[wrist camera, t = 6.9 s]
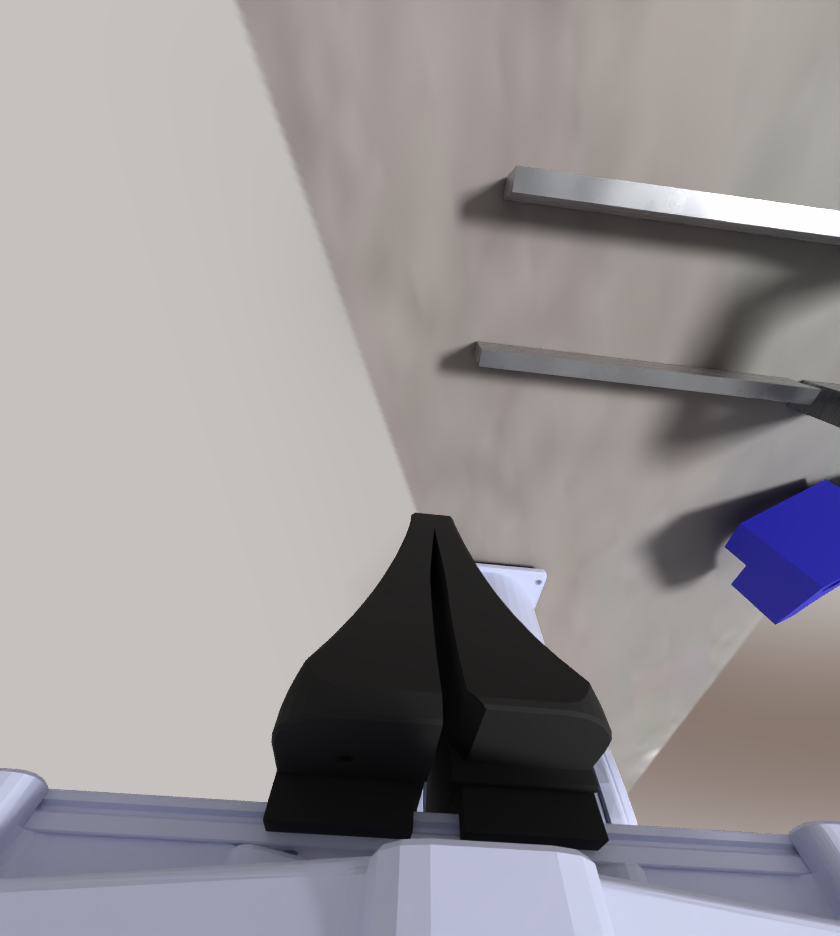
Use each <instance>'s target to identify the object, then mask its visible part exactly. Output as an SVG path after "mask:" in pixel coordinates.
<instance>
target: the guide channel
mask: <svg viewBox="0 0 840 936" xmlns="http://www.w3.org/2000/svg"><path fill="white" fill-rule="evenodd" d="M503 200H509V201H516V202H523V203H531V204H538V205H545V206H553V207H560V208H567V209H575V210H582V211H589V212H597V213H604V214H611V215H619V216H626V217H633V218H641V219H648V220H655V221H663V222H670V223H677V224H685V225H692V226H699V227H707V228H714V229H721V230H729V231H736V232H743V233H751V234H758V235H765V236H772V237H780V238H787V239H794V240H802V241H809V242H816V243H824V244H831V245H838V246H840V211H836V210H829V209H822V208H814V207H807V206H800V205H793V204H786V203H779V202H772V201H765V200H758V199H751V198H743V197H736V196H729V195H722V194H715V193H708V192H701V191H694V190H687V189H680V188H672V187H665V186H658V185H651V184H644V183H637V182H630V181H623V180H616V179H609V178H601V177H594V176H587V175H580V174H573V173H566V172H559V171H552V170H545V169H537V168H530V167H523V166H517V167H516V168H515V169H514V170H513V171H512V172H511V173H510V174H509V175H508V176H507V179H506V185H505V190H504V195H503ZM474 358H475V360H476V362H477V364H478V366H480V367H489V368H498V369H506V370H515V371H523V372H532V373H541V374H549V375H558V376H567V377H575V378H584V379H592V380H601V381H610V382H618V383H627V384H636V385H644V386H653V387H661V388H670V389H679V390H687V391H696V392H705V393H713V394H722V395H730V396H739V397H748V398H756V399H765V400H774V401H782V402H791V403H799V404H808V405H811V404H812V403H813V401H814V400H815V398H816V397H817V395H818V394H819V392H820V391H821V389H818V388H815V387H812V386H809V385H806V384H803V383H800V382H797V381H794V380H790V379H787V378H781V377H772V376H764V375H756V374H747V373H739V372H730V371H722V370H714V369H705V368H697V367H688V366H680V365H671V364H663V363H655V362H646V361H638V360H629V359H621V358H613V357H604V356H596V355H587V354H579V353H571V352H562V351H554V350H545V349H537V348H529V347H520V346H512V345H503V344H495V343H486V342H478V341H477V344H476V349H475V355H474Z"/></svg>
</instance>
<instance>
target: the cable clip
mask: <svg viewBox="0 0 840 936" xmlns="http://www.w3.org/2000/svg"><path fill="white" fill-rule="evenodd" d="M725 548H726V549H728V550H729V551H730V552H731V553H732V554H734V555H735V556H736V557H737V558H738V559H739V560H741V561H742V562H743V563H744V564H745V565H746V567H745V568H744V569H743V570H742V572H741V573H740V574H739V575H738V577H737V578H736V579H735V580H734V581H733V583H732V584H731V585H732V586H733V587H735V588H736V589H737V590H738V591H739V592H740V593H741V594H742V595H743V596H744V597H746V598H747V599H748V600H749V601H750V602H751V603H752V604H753V605H754V606H755V607H757V608H758V609H759V610H760V611H761V612H762V613H763V614H764V615H765V616H766V617H768V618H769V619H770V620H771V621H772V622H773V623H774V624H778V623H780V622H781V621H783V620H785V619H787V618H789V617H791V616H793V615H795V614H796V613H798V612H799V611H800V610H802V609H803V608H805V607H806V606H808V605H809V604H811V603H812V602H814V601H815V600H817V599H819V598H820V597H821V596H823V595H825V594H826V593H828V592H829V591H831V590H833V589H834V588H836V587H837V586H839V585H840V487H838V486H836V485H834V484H833V483H831V482H829V481H828V480H824V481H822V482H820V483H818V484H816V485H814V486H812V487H810V488H808V489H806V490H804V491H802V492H800V493H798V494H796V495H794V496H792V497H791V498H789V499H787V500H785V501H783V502H781V503H779V504H777V505H775V506H773V507H771V508H769V509H767V510H765V511H763V512H761V513H759V514H757V515H756V516H754V517H752V518H750V519H748V520H746V521H744V522H742V523H740V524H739V526H738V527H737V529H736V530H735V532H734V534H733V535H732V537H731V538H730V540H729V541H728V543H727V544H726V546H725Z"/></svg>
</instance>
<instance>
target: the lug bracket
mask: <svg viewBox="0 0 840 936" xmlns="http://www.w3.org/2000/svg"><path fill="white" fill-rule="evenodd" d="M802 383H803V384H806V385H809V386H812V387H815V388H818V389H821V391H820V392H819V394H818V395H817V397H816V398H815V400H814V401H813V403H812V404H811V405H808V404H799V403H791V402H789V403H788V405H787V407H789V408H792V409H795V410H797V411H800V412H802V413H805V414H807V415H810V416H812V417H815V418H817V419H820V420H822V421H825V422H827V423H830V424H832V425H835V426H837V427H840V385H839V384H831V383H823V382H814V381H806V380H803V382H802Z"/></svg>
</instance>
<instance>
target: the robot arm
mask: <svg viewBox="0 0 840 936" xmlns="http://www.w3.org/2000/svg"><path fill="white" fill-rule="evenodd" d="M546 578H547V575H546V572H545V571H544V570H542V569H534V568H523V567H512V566H501V565H490V564H480V563H475V561H474V560H473V558H472V556H471V555H470V553H469V551H468V550H467V548H466V546H465V544H464V542H463V540H462V538H461V536H460V534H459V532H458V530H457V528H456V526H455V524H454V521H453V519H452V518H451V517H450V516H443V515H433V514H422V513H414V514H412V515H411V522H410V525H409V528H408V531H407V534H406V536H405V539H404V541H403V543H402V545H401V547H400V549H399V551H398V553H397V555H396V557H395V558H394V560H393V562H392V563H391V565H390V567H389V568H388V570H387V572H386V573H385V575H384V576H383V578H382V579H381V581H380V582H379V584H378V585H377V586H376V588H375V589H374V590H373V592H372V593H371V594H370V595H369V597H368V598H367V599H366V600H365V602H364V603H363V604H362V605H361V607H360V608H359V609H358V610H357V611H356V612H355V614H354V615H353V616H352V617H351V618H350V619H349V620H348V621H347V622H346V623H345V624H344V625H343V626H342V627H341V628H340V629H339V630H338V631H337V632H336V633H335V634H334V635H333V636H332V637H331V638H330V639H329V640H328V641H327V642H326V643H325V644H323V645H322V646H321V647H320V648H319V649H318V650H317V651H316V652H315V653H314V654H312V655H311V656H310V657H309V658H308V659H307V660H306V661H305V663H304V664H303V666H302V667H301V669H300V671H299V672H298V674H297V676H296V677H295V679H294V681H293V683H292V685H291V686H290V689H289V690H288V693H287V695H286V697H285V699H284V702H283V704H282V706H281V709H280V711H279V715H278V717H277V721H276V724H275V727H274V730H273V733H272V746H273V752H274V757H275V762H276V767H277V773H276V776H275V779H274V782H273V786H272V789H271V793H270V796H269V799H268V802H253V801H236V800H221V799H204V798H188V797H172V796H171V797H170V796H155V795H139V794H123V793H108V792H90V791H75V790H58V789H48V785H47V784H46V782H45V781H44V779H43V778H42V777H40V776H38V775H37V774H35V773H32V772H29V771H26V770H19V769H7V768H0V936H840V822H836V821H812V822H807V823H803V824H801V825H799V826H797V827H795V828H794V829H792V830H791V831H790V832H789V835H784V834H770V833H753V832H737V831H720V830H704V829H689V828H672V827H657V826H656V827H655V826H640V825H638V824H637V821H636V818H635V815H634V812H633V809H632V806H631V803H630V800H629V798H628V795H627V792H626V789H625V786H624V784H623V781H622V778H621V776H620V773H619V771H618V768H617V766H616V763H615V761H614V758H613V756H612V754H611V751H610V749H609V747H608V746H609V744H610V742H611V740H612V734H611V729H610V726H609V724H608V721H607V719H606V716H605V714H604V711H603V709H602V707H601V705H600V703H599V700H598V699H597V697H596V695H595V693H594V691H593V689H592V687H591V685H590V683H589V682H588V681H587V680H585V679H584V678H583V677H582V676H580V675H579V674H578V673H577V672H576V671H574V670H573V669H572V668H571V667H569V666H568V665H567V664H566V663H564V662H563V661H562V660H561V659H559V658H558V657H557V656H556V655H555V654H554V653H553V652H551V651H550V650H549V649H548V648H547V647H546V646H545V643H544V640H543V637H542V634H541V630H540V627H539V624H538V621H537V618H536V614H535V611H534V608H535V606H536V603H537V601H538V598H539V596H540V593H541V591H542V588H543V586H544V583H545V581H546ZM537 580H538V581H537Z"/></svg>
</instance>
